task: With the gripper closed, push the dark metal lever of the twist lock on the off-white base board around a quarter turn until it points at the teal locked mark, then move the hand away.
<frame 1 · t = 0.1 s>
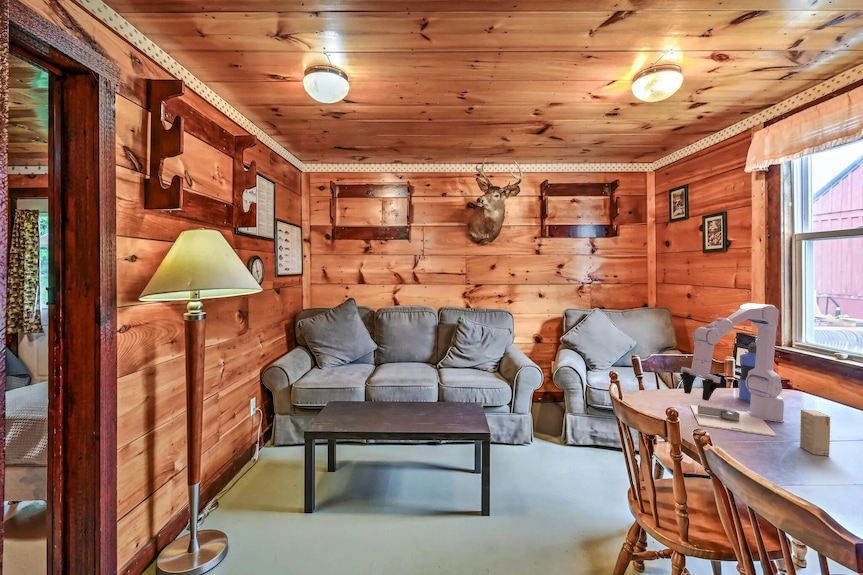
hand: (696, 396, 144), 10 cm above the table, tool pointing down, fingers open, 7 cm apart
skincare box: (813, 451, 124), on the table
twist lock: (718, 412, 150), point 2 cm above the table, hinge at 0.0°
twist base: (729, 420, 149), on the table
water bottle: (752, 400, 170), on the table
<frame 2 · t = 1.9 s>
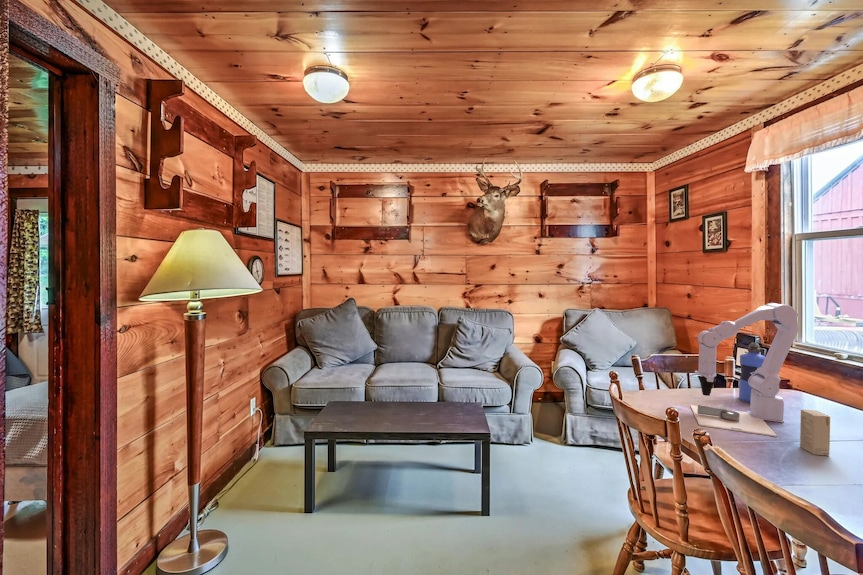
hand: (706, 395, 156), 7 cm above the table, tool pointing down, fingers closed
nothing on the table moved.
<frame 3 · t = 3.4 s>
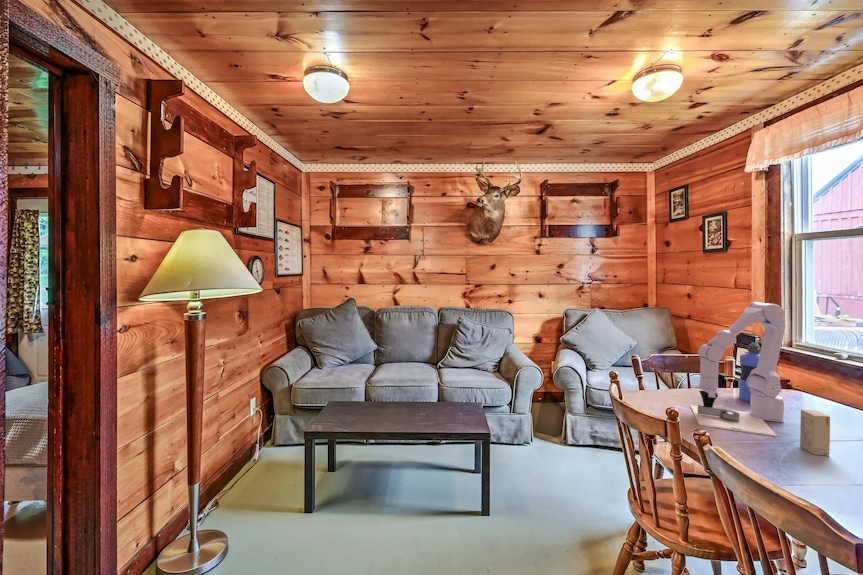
hand: (707, 410, 153), 2 cm above the table, tool pointing down, fingers closed, pressing on twist lock
twist lock: (718, 412, 150), point 2 cm above the table, hinge at 0.0°, touching gripper
everything else where it was.
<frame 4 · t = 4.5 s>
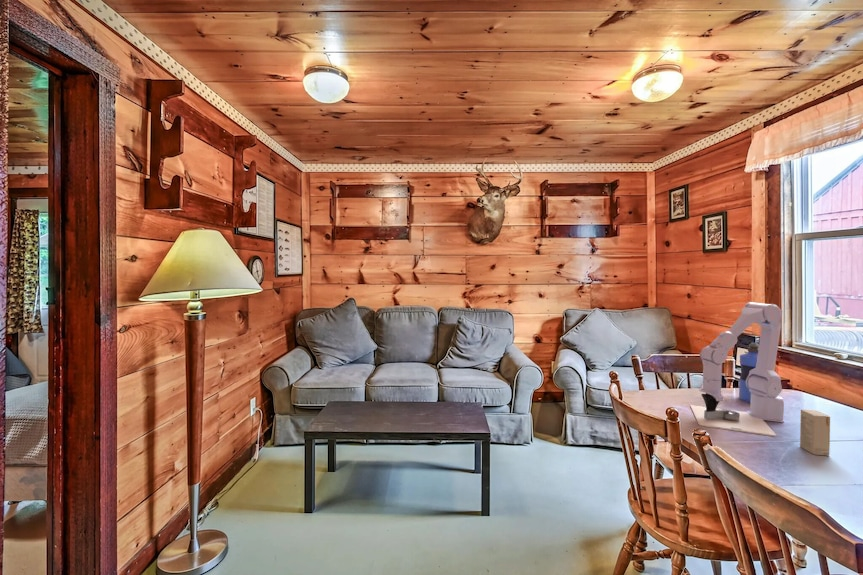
hand: (710, 413, 149), 2 cm above the table, tool pointing down, fingers closed, pressing on twist lock
twist lock: (721, 414, 148), point 2 cm above the table, hinge at 34.2°, touching gripper
everything else where it was.
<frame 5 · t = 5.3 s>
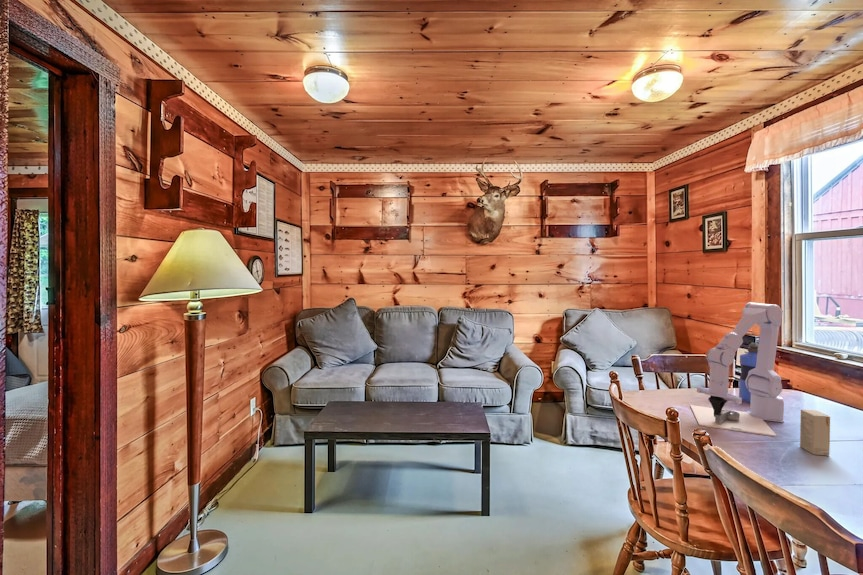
hand: (717, 416, 146), 2 cm above the table, tool pointing down, fingers closed, pressing on twist lock
twist lock: (725, 415, 147), point 2 cm above the table, hinge at 58.7°, touching gripper
everything else where it was.
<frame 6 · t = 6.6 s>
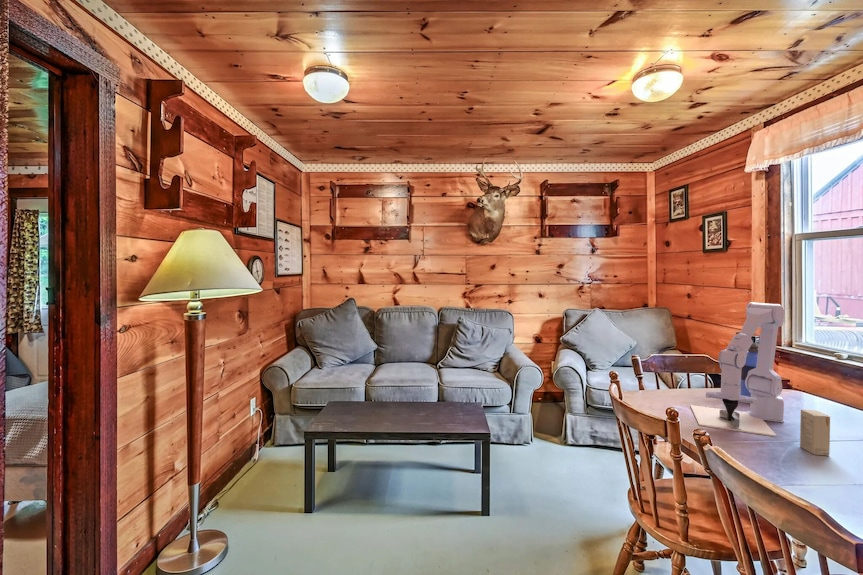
hand: (729, 419, 143), 2 cm above the table, tool pointing down, fingers closed
twist lock: (731, 417, 145), point 2 cm above the table, hinge at 91.2°, touching gripper
everything else where it was.
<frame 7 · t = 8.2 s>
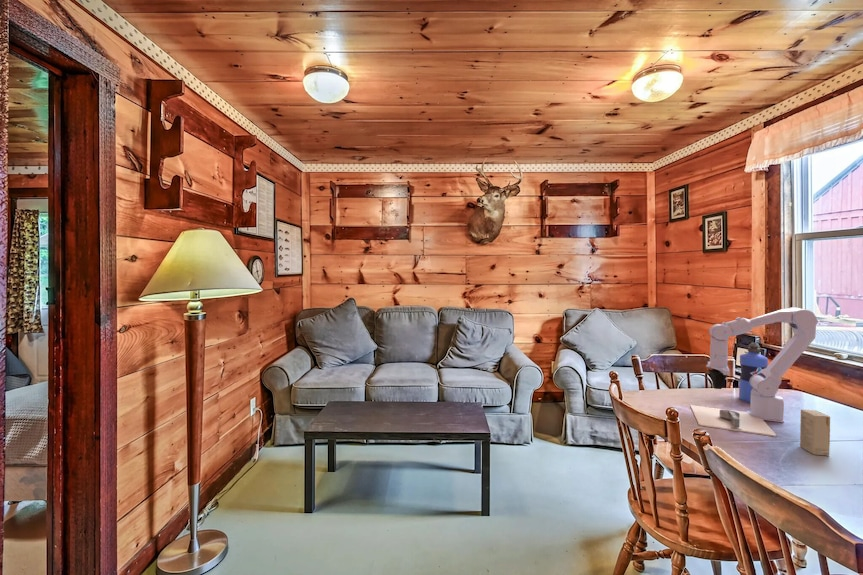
hand: (717, 388, 157), 9 cm above the table, tool pointing down, fingers closed
twist lock: (731, 417, 145), point 2 cm above the table, hinge at 91.4°
everything else where it was.
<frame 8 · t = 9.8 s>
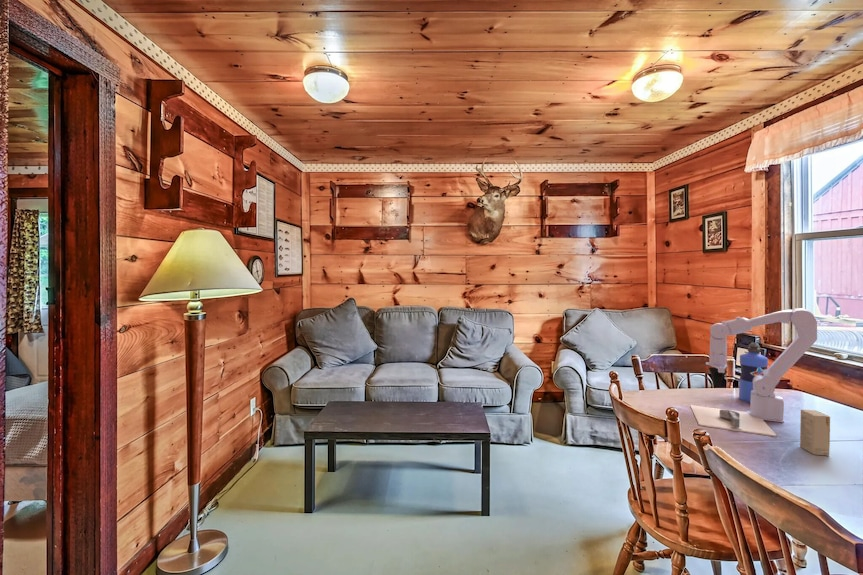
hand: (716, 386, 160), 9 cm above the table, tool pointing down, fingers closed
nothing on the table moved.
at the end: twist lock at +91° (first picture: +0°) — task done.
